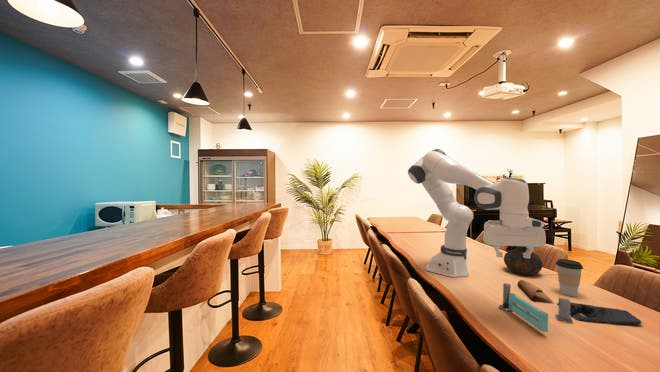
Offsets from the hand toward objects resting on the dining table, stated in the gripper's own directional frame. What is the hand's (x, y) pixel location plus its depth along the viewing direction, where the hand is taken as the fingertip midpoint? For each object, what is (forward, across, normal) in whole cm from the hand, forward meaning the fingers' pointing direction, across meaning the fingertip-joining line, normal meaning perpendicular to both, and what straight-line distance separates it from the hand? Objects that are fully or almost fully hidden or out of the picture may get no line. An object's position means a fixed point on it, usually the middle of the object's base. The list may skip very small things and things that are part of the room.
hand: (512, 257), depth 98 cm
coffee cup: (+24, +38, +28) cm, 53 cm away
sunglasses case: (+24, +23, +25) cm, 41 cm away
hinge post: (+23, +2, +8) cm, 25 cm away
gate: (+22, +4, -3) cm, 22 cm away
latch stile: (+23, +19, +2) cm, 30 cm away
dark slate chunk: (+24, +35, +8) cm, 43 cm away
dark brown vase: (+23, +34, +54) cm, 68 cm away
